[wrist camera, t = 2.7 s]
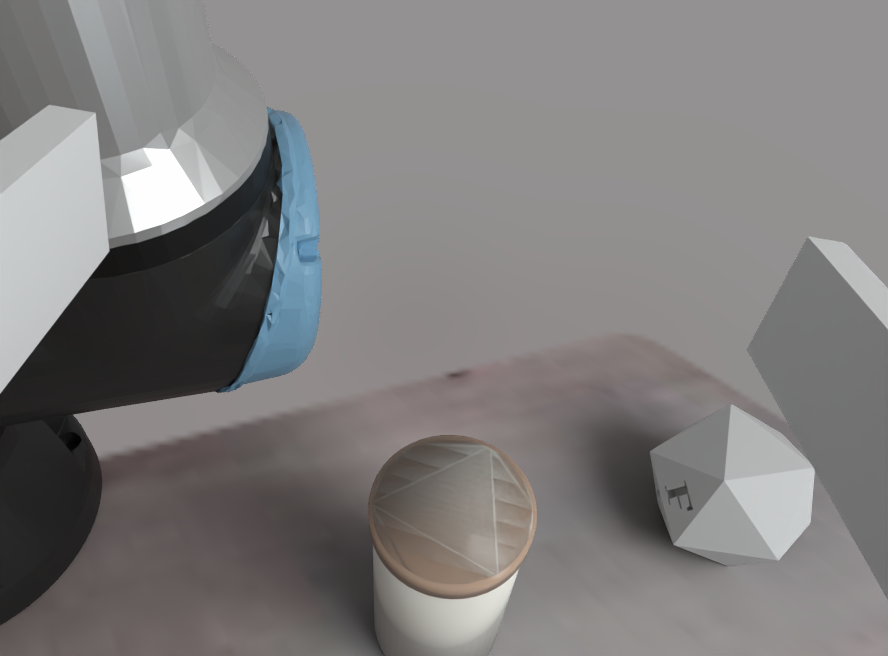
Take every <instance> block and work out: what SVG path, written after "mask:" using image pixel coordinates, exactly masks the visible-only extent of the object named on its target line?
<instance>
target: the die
mask: <svg viewBox="0 0 888 656" xmlns="http://www.w3.org/2000/svg"><path fill="white" fill-rule="evenodd" d="M650 457H651V463H652V470H653V476H654V483H655V489H656V496H657V502H658V506H659V508H660V511H661V514H662V516H663V519H664V521H665V524H666V527H667V529H668V532H669V535H670V537H671V540H672V542H673V545H675V546H677V547H680V548H683V549H685V550H688V551H690V552H693V553H695V554H698V555H700V556H703V557H706V558H708V559H711V560H713V561H716V562H718V563H721V564H723V565H726V566H737V565H745V564H754V563H762V562H771V561H778V560H779V559H780V558H781V557H782V556H783V554H784V553H785V552H786V551H787V550H788V549H789V547H790V546H791V545H792V544H793V543H794V542H795V540H796V539H797V538H798V537H799V536H800V535H801V533H802V532H803V531H804V530H805V529H806V528H807V526H808V525H809V524H810V522H811V510H812V497H813V485H814V473H815V470H814V468H813V466H812V464H811V463H810V462H809V461H808V460H807V459H806V458H805V457H804V456H803V455H802V454H801V453H800V452H799V451H798V450H797V449H796V448H795V447H794V446H793V445H792V444H791V443H790V442H789V441H788V439H787V438H786V437H785V436H784V435H783V434H782V433H780V432H778V431H776V430H775V429H773V428H771V427H770V426H768V425H766V424H765V423H763V422H761V421H759V420H758V419H756V418H754V417H753V416H751V415H749V414H747V413H746V412H744V411H742V410H741V409H739V408H737V407H736V406H734V405H732V404H730V405H728V406H726V407H724V408H722V409H721V410H719V411H717V412H715V413H713V414H711V415H709V416H708V417H706V418H704V419H702V420H700V421H698V422H696V423H694V424H693V425H691V426H689V427H687V428H686V429H684V430H683V431H681V432H680V433H678V434H676V435H675V436H673V437H672V438H670V439H668V440H667V441H665V442H664V443H662V444H661V445H659V446H657V447H656V448H654V449H653V450H651V451H650Z"/></svg>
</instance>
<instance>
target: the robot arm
mask: <svg viewBox="0 0 888 656" xmlns="http://www.w3.org/2000/svg"><path fill="white" fill-rule="evenodd" d="M318 243H319V208H318V198H317V190H316V183H315V176H314V170H313V165H312V159H311V156H310V151H309V147H308V144H307V141H306V137H305V134H304V131H303V129H302V127H301V125H300V123H299V121H298V120H297V119H296V118H295V117H294V116H293V115H291V114H290V113H287V112H284V111H279V110H278V111H275V110H274V109H271V108H268V107H267V106H266V102H265V98H264V94H263V92H262V90H261V88H260V87H259V85H258V83H257V81H256V79H255V78H254V77H253V75H252V74H251V72H250V71H249V70H248V69H247V68H246V67H245V66H244V65H243V64H242V63H241V62H240V61H239V60H238V59H237V58H235V57H234V56H232V55H231V54H230V53H228V52H227V51H225V50H224V49H223V48H221V47H219V46H217V45H215V44H213V43H212V42H211V37H210V32H209V26H208V21H207V15H206V10H205V5H204V0H0V625H1V624H3V623H5V622H6V621H8V620H9V619H11V618H12V617H14V616H15V615H17V614H18V613H20V612H21V611H22V610H24V609H25V608H26V607H28V606H29V605H30V604H31V603H33V602H34V601H35V600H36V599H37V598H39V597H40V596H41V595H42V594H43V593H44V592H45V591H46V590H47V589H48V588H49V587H50V586H51V585H52V584H53V583H54V582H55V581H56V580H57V579H58V578H59V577H60V576H61V575H62V573H63V572H64V571H65V570H66V569H67V567H68V566H69V565H70V564H71V562H72V561H73V560H74V558H75V557H76V555H77V554H78V552H79V551H80V549H81V547H82V546H83V544H84V542H85V541H86V539H87V537H88V535H89V533H90V531H91V528H92V526H93V524H94V521H95V518H96V515H97V512H98V508H99V504H100V498H101V490H102V477H101V469H100V464H99V460H98V457H97V454H96V452H95V450H94V448H93V446H92V444H91V442H90V440H89V439H88V437H87V435H86V433H85V431H84V430H83V428H82V426H81V424H80V423H79V422H78V420H77V419H76V418H75V417H74V416H73V414H79V413H84V412H90V411H96V410H101V409H108V408H114V407H120V406H126V405H132V404H139V403H145V402H151V401H157V400H163V399H170V398H176V397H182V396H188V395H195V394H201V393H207V392H214V391H215V392H217V393H221V392H230V391H233V390H236V389H237V388H239V387H241V386H242V385H243V384H247V383H250V382H255V381H260V380H264V379H268V378H273V377H277V376H281V375H285V374H287V373H290V372H292V371H293V370H295V369H296V368H298V367H299V366H300V365H301V364H302V363H303V362H304V361H305V360H306V358H307V357H308V355H309V353H310V352H311V349H312V347H313V345H314V342H315V339H316V335H317V330H318V324H319V316H320V305H321V285H322V275H321V274H322V272H321V259H320V254H319V251H318V248H317V246H318ZM747 351H748V353H749V355H750V356H751V358H752V360H753V362H754V363H755V365H756V367H757V369H758V370H759V372H760V374H761V376H762V378H763V379H764V381H765V383H766V385H767V386H768V388H769V390H770V392H771V393H772V395H773V397H774V399H775V401H776V402H777V404H778V406H779V408H780V409H781V411H782V413H783V415H784V417H785V418H786V420H787V422H788V424H789V425H790V427H791V429H792V431H793V432H794V434H795V436H796V438H797V440H798V441H799V443H800V445H801V447H802V448H803V450H804V452H805V454H806V455H807V457H808V459H809V461H810V463H811V464H812V466H813V468H814V470H815V471H816V473H817V475H818V477H819V479H820V480H821V482H822V484H823V486H824V487H825V489H826V491H827V493H828V494H829V496H830V498H831V500H832V502H833V503H834V505H835V507H836V509H837V510H838V512H839V514H840V516H841V517H842V519H843V521H844V523H845V525H846V526H847V528H848V530H849V532H850V533H851V535H852V537H853V539H854V540H855V542H856V544H857V546H858V548H859V549H860V551H861V553H862V555H863V556H864V558H865V560H866V562H867V564H868V565H869V567H870V569H871V571H872V572H873V574H874V576H875V578H876V579H877V581H878V583H879V585H880V587H881V588H882V590H883V592H884V594H885V595H886V597H887V599H888V288H887V287H886V286H885V285H884V284H883V283H882V282H881V281H880V280H879V279H878V278H877V277H876V275H875V274H874V273H873V272H872V271H871V270H870V269H869V268H868V267H867V266H866V265H865V264H864V263H863V262H862V260H860V258H859V257H858V256H857V255H856V254H855V253H854V252H853V251H852V250H851V249H850V248H849V247H848V246H847V245H846V244H845V243H843V242H837V241H832V240H826V239H820V238H814V237H807V239H806V241H805V243H804V244H803V246H802V248H801V250H800V252H799V254H798V256H797V257H796V259H795V261H794V263H793V265H792V267H791V268H790V270H789V272H788V274H787V276H786V278H785V280H784V281H783V284H782V285H781V287H780V289H779V291H778V293H777V295H776V296H775V298H774V300H773V302H772V304H771V306H770V307H769V309H768V311H767V313H766V315H765V317H764V318H763V320H762V322H761V324H760V326H759V328H758V330H757V331H756V333H755V335H754V337H753V339H752V341H751V343H750V344H749V346H748V348H747Z"/></svg>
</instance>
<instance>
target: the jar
mask: <svg viewBox="0 0 888 656" xmlns="http://www.w3.org/2000/svg"><path fill="white" fill-rule="evenodd" d="M536 522H537V507H536V501H535V497H534V494H533V491H532V488H531V486H530V484H529V482H528V479H527V478H526V476H525V475H524V473H523V472H522V470H521V469H520V468H519V467H518V466H517V464H516V463H515V462H514V461H513V460H512V459H511V458H510V457H508V456H507V455H506V454H504V453H503V452H502V451H500V450H499V449H497V448H495V447H494V446H492V445H490V444H488V443H485V442H483V441H480V440H477V439H474V438H470V437H465V436H457V435H440V436H433V437H429V438H425V439H421V440H418V441H416V442H413V443H411V444H409V445H407V446H405V447H404V448H402V449H401V450H399V451H398V452H396V453H395V454H394V455H393V456H392V457H391V458H390V459H389V460H388V461H387V462H386V463H385V464H384V465H383V467H382V468H381V470H380V471H379V473H378V474H377V476H376V478H375V480H374V483H373V485H372V488H371V492H370V497H369V530H370V536H371V540H372V543H373V579H374V626H375V633H376V637H377V640H378V643H379V645H380V648H381V650H382V651H383V653H384V655H385V656H488V655H489V653H490V651H491V649H492V647H493V644H494V642H495V639H496V636H497V633H498V630H499V627H500V624H501V621H502V618H503V615H504V612H505V609H506V606H507V603H508V600H509V597H510V594H511V591H512V588H513V585H514V582H515V579H516V576H517V573H518V570H519V568H520V566H521V565H522V563H523V561H524V560H525V558H526V556H527V553H528V551H529V549H530V546H531V543H532V540H533V537H534V533H535V529H536Z"/></svg>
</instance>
